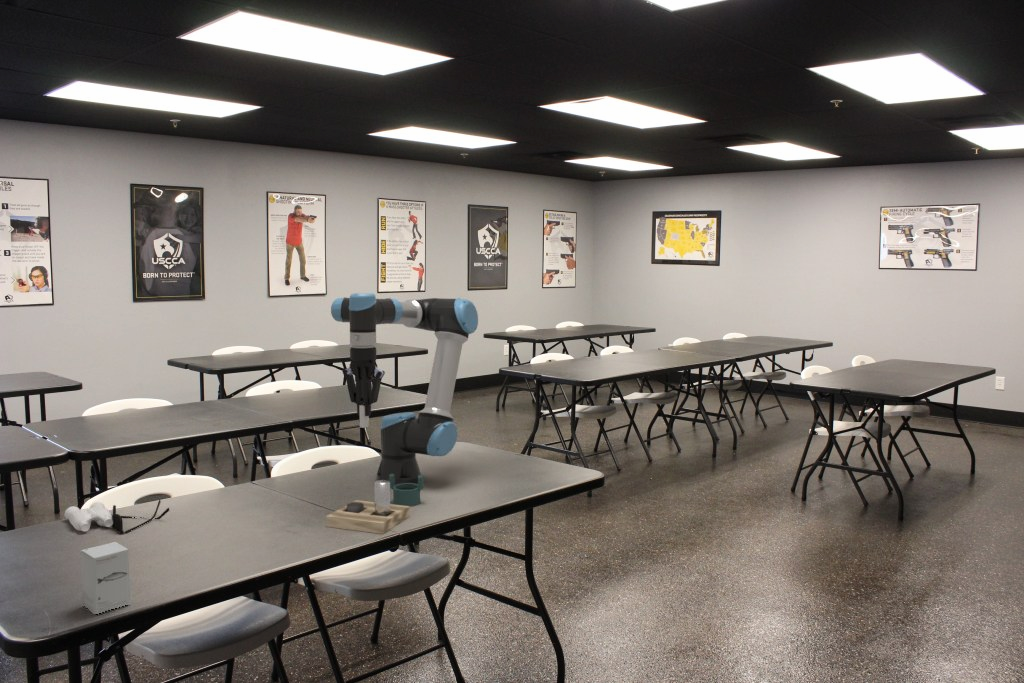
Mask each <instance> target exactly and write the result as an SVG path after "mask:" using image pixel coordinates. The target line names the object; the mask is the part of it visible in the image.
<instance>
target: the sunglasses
mask: <svg viewBox="0 0 1024 683" xmlns="http://www.w3.org/2000/svg"><path fill="white" fill-rule="evenodd" d="M160 505H161V499H159V500H158V502H157V505H156V509H155V512H154V513H153V515H152V517H151V519H147V520H146V521H144V522H142V523H140V524H138V525H135V526H134V527H131V528H129V529H127V530H123V527H124V526H123V525H124V522H123V519H136V518H135V517H136V516H132V515H131V516H130V515H129V516H127V515H120V514H118V513H117V506H116V505H115V504H113V505H112V515H113V525H112V526H111V527H112V528H113V529H114V530H115V529H116V530H115V531H116V532H118V531H119V532H120V534H119V535H124V534H125V533H126V534H128V533H130V532H132V531H131V530H133V529H135V528H137V527H139V526H141V525H143V524H145V523H146V524H148V523H150V522H151V521H153V520H152V519H153V518H155V519H158V520H160V519H162V517H164V516H165V515H167V513H168V512H170V507H167V508H166V509H165V511H163V512H162V513H161V514H160V515H158V517H156V515H157V512H158V509H159V508H160ZM132 517H134V518H132ZM139 517H140V518H142V517H143V516H142V517H141V516H139ZM149 521H150V522H149ZM147 522H148V523H147ZM146 524H145V525H146ZM143 526H144V525H143ZM141 527H142V526H141ZM139 528H140V527H139ZM137 529H138V528H137ZM135 530H136V529H135ZM133 531H134V530H133ZM119 532H118V533H119Z"/></svg>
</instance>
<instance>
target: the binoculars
mask: <svg viewBox="0 0 1024 683" xmlns="http://www.w3.org/2000/svg"><path fill="white" fill-rule="evenodd" d="M63 516H64V518H66V520H68V519H69V520H68V521H69V523H70V524H71V526H73V528H74V529H75V530H76V531H79V532H87V531H89V530H90V528H91V524H92V521H94V522H95V523H96V524H97V525H98V526H99V527H102V526H103V528H104V527H107V528H110V527H113V526H112V525H113V513H111V511H110V510H109V508H107V507H106V506H105V504H104V503H103V502H100V501H96V502H93V503H92V504H91V505H90V507H89V508H81V509H80V508H79V507H78V506H76V505H75V506H74V505H72V506H69V507H68V508H66V510H65V511H64V515H63Z"/></svg>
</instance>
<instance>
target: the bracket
mask: <svg viewBox="0 0 1024 683" xmlns="http://www.w3.org/2000/svg"><path fill="white" fill-rule="evenodd" d="M389 481H390V490H393V491H392V494H393V495H392V496H393V497H392V498H393V500H392V502H393V503H392V504H394V505H402V506H410V508H411V507H414V506H415V507H416V506H418V505H419V504H420V503H421V491H422V490H424V488H425V482H424V481H425V475H422V474H421V475H418V483H415V484H414V483H402V484H397V485H395V474H390V475H389Z"/></svg>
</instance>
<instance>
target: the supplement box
mask: <svg viewBox="0 0 1024 683" xmlns="http://www.w3.org/2000/svg"><path fill="white" fill-rule="evenodd" d="M129 553H130V552H129V549H128V548H127V547H125V546H123V545H122V544H120V543H118V542H117V541H114V542H113V541H112V542H110V543H104V544H101V545H98V546H92V547H89V548H85V549H81V550H80V554H79V556H80V570H81V571H80V573H81V594H82V595H81V596H82V599H81V600H82V606H83V605H84V606H86V607H87V608H88V609H89V610H90V611H92V612H93V613H94V614H98V615H100V614H99V613H101V614H103V613H102V612H104V613H106V612H105V611H107V612H109V611H108V610H110V611H112V610H111V609H114V610H116V609H115V608H117V609H120V608H123V607H122V606H124V607H126V606H125V605H128V606H130V605H131V584H130V557H129V556H130V554H129ZM129 604H130V605H129ZM84 606H83V607H84ZM119 607H120V608H119ZM88 609H87V610H88ZM89 610H88V611H89ZM90 611H89V612H90ZM93 613H92V614H93ZM94 614H93V615H94Z"/></svg>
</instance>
